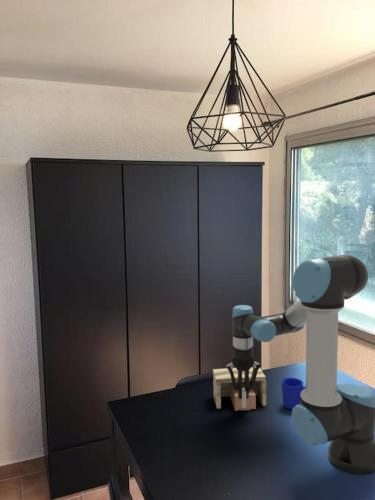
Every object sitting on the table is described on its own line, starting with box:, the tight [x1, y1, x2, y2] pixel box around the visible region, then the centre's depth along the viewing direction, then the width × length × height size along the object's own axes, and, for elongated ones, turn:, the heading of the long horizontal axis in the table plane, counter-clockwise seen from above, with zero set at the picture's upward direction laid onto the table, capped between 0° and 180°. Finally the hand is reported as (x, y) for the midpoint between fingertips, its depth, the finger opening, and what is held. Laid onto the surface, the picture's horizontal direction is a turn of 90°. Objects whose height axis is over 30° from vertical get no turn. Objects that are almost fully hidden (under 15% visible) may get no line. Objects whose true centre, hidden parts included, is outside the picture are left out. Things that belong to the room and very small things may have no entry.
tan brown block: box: [229, 382, 257, 412], centre depth 174 cm, size 12×8×6 cm, turn 4°
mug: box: [280, 377, 306, 410], centre depth 169 cm, size 8×12×10 cm
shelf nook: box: [212, 366, 267, 409], centre depth 176 cm, size 11×20×12 cm, turn 94°
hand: (243, 406), depth 167 cm, fingers closed
